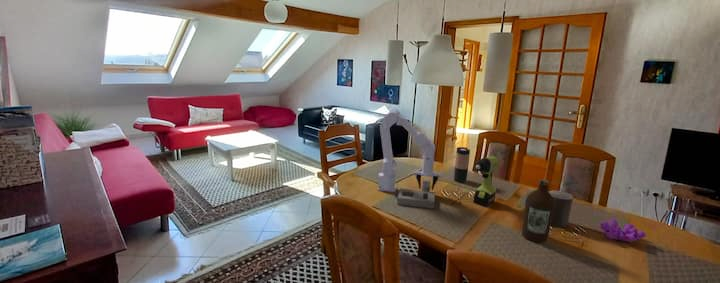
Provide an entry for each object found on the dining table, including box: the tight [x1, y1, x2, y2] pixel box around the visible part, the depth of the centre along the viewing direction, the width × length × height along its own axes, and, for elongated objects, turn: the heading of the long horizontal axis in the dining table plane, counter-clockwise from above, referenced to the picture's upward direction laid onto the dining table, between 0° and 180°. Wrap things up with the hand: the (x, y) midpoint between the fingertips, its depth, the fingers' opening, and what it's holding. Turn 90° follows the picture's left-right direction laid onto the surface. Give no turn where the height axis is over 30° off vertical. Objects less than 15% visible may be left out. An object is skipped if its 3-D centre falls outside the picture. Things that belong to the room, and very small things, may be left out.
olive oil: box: [521, 179, 555, 244], centre depth 130 cm, size 11×11×25 cm
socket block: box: [396, 188, 436, 209], centre depth 163 cm, size 18×12×4 cm, turn 77°
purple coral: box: [599, 219, 647, 242], centre depth 132 cm, size 11×15×10 cm
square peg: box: [421, 178, 432, 192], centre depth 172 cm, size 4×4×8 cm
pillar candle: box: [548, 190, 574, 229], centre depth 143 cm, size 10×10×15 cm
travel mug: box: [453, 146, 471, 184], centre depth 189 cm, size 8×8×20 cm
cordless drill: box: [472, 156, 501, 208], centre depth 158 cm, size 23×7×25 cm, turn 137°
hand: (426, 188), depth 172 cm, fingers open, 6 cm apart
